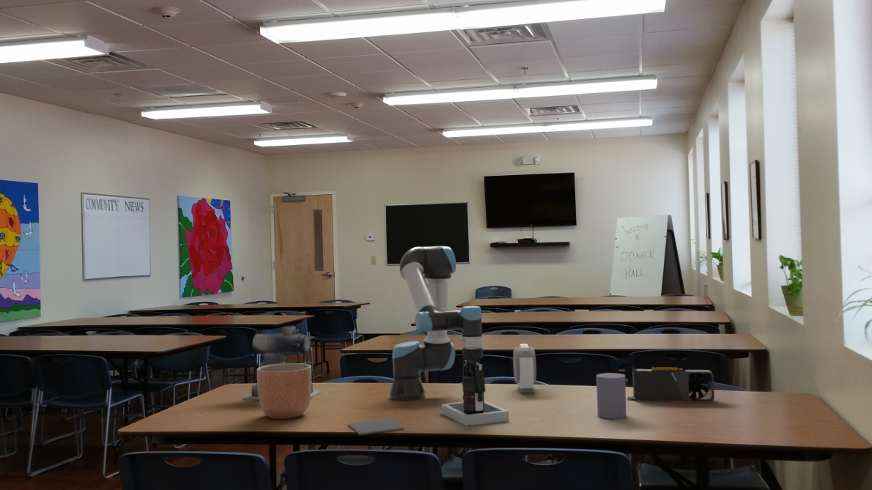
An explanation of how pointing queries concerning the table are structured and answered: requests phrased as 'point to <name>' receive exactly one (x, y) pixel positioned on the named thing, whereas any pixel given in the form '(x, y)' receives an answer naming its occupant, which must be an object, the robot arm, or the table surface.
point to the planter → (284, 389)
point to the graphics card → (671, 385)
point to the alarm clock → (524, 367)
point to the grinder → (279, 351)
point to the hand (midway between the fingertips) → (474, 407)
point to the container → (611, 395)
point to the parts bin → (490, 416)
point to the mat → (375, 426)
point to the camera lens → (470, 396)
